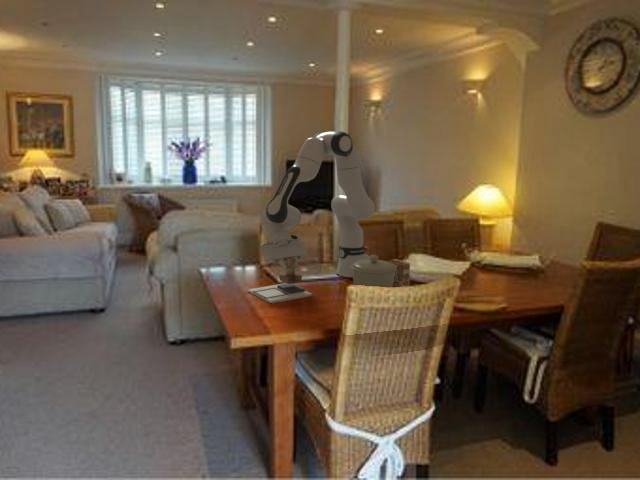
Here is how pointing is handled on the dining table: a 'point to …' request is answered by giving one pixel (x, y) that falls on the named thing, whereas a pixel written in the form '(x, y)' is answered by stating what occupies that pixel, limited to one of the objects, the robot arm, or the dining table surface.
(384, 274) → the canister
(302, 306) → the dining table surface
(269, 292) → the stamp board
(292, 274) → the stamp
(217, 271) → the dining table surface
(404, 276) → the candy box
